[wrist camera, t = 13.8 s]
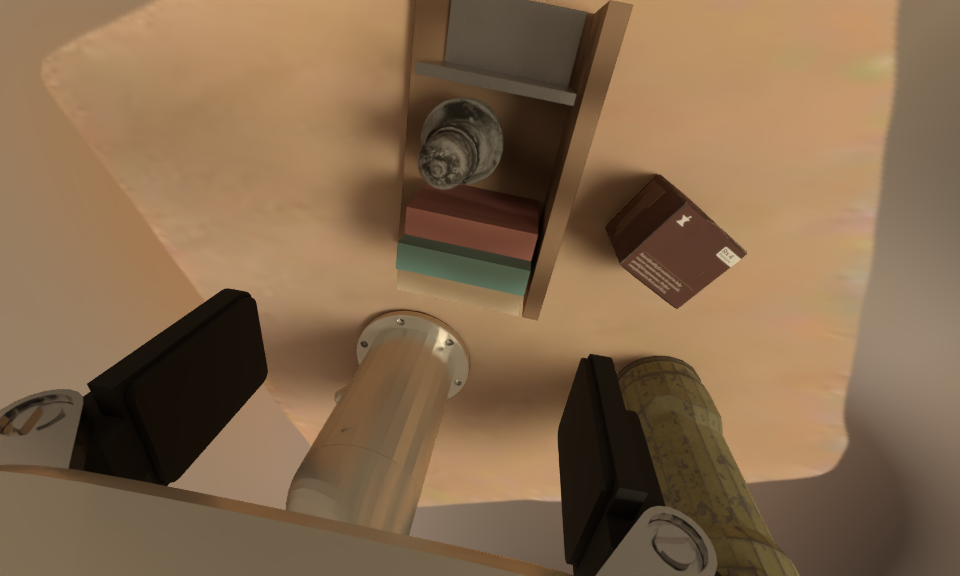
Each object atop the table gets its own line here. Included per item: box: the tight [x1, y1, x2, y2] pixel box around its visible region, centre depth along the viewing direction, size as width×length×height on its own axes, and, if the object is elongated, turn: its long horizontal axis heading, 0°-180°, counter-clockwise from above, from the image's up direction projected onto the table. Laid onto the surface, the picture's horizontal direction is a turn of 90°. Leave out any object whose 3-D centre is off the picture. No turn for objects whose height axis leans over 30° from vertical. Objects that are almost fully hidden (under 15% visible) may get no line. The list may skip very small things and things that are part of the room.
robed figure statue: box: [617, 356, 800, 576], centre depth 27 cm, size 9×12×35 cm
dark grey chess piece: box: [418, 98, 503, 190], centre depth 26 cm, size 6×6×12 cm
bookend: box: [415, 0, 587, 106], centre depth 24 cm, size 5×9×8 cm, turn 80°
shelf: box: [396, 0, 633, 320], centre depth 28 cm, size 20×13×10 cm, turn 170°
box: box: [605, 175, 747, 309], centre depth 30 cm, size 6×6×7 cm
